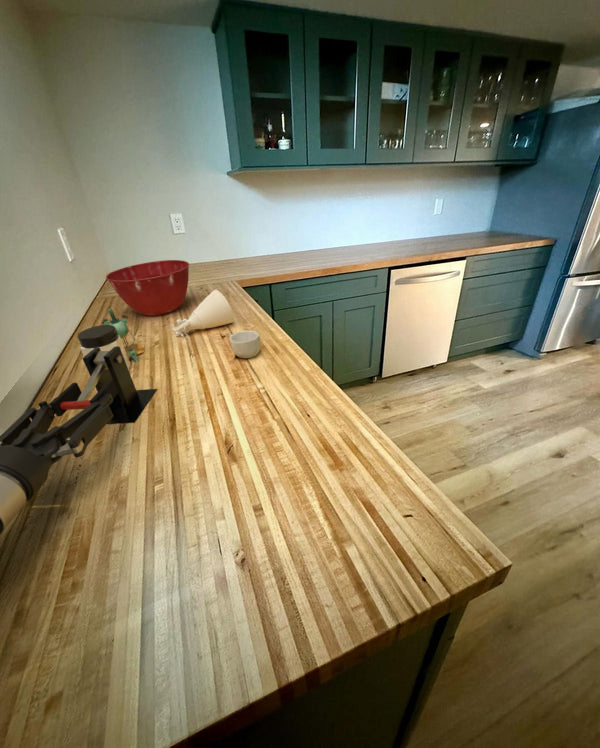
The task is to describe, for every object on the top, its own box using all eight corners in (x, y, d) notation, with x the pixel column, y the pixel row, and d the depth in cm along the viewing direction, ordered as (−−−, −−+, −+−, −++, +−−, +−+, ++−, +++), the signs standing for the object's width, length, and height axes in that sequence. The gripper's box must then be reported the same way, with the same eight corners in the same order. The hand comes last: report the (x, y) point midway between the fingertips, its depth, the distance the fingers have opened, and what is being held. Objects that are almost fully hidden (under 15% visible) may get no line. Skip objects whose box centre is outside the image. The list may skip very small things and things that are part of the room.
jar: (128, 380, 82) (110, 335, 76) (92, 386, 81) (71, 341, 75) (134, 363, 90) (118, 321, 84) (101, 369, 88) (83, 327, 82)
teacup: (266, 356, 88) (263, 337, 85) (238, 364, 85) (234, 345, 82) (252, 343, 96) (250, 325, 93) (226, 350, 93) (223, 332, 90)
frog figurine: (109, 375, 85) (85, 318, 79) (111, 355, 101) (92, 306, 94) (148, 364, 89) (129, 309, 83) (145, 346, 104) (128, 299, 98)
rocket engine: (161, 310, 96) (215, 283, 103) (164, 324, 107) (213, 299, 114) (184, 343, 96) (236, 313, 103) (185, 354, 107) (232, 327, 114)
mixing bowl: (153, 328, 112) (138, 282, 104) (104, 317, 125) (88, 275, 118) (213, 302, 132) (205, 261, 124) (165, 295, 146) (155, 258, 138)
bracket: (136, 427, 66) (111, 365, 59) (87, 429, 66) (56, 369, 59) (159, 393, 76) (139, 337, 69) (116, 395, 76) (92, 340, 69)
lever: (98, 411, 58) (91, 402, 56) (65, 413, 58) (56, 405, 56) (125, 358, 67) (119, 349, 65) (95, 360, 67) (89, 351, 65)
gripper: (-57, 511, 44) (54, 407, 64) (83, 504, 43) (152, 401, 63) (-95, 470, 40) (36, 373, 60) (58, 462, 40) (139, 366, 60)
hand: (95, 387), depth 62 cm, fingers closed on lever, 6 cm apart
